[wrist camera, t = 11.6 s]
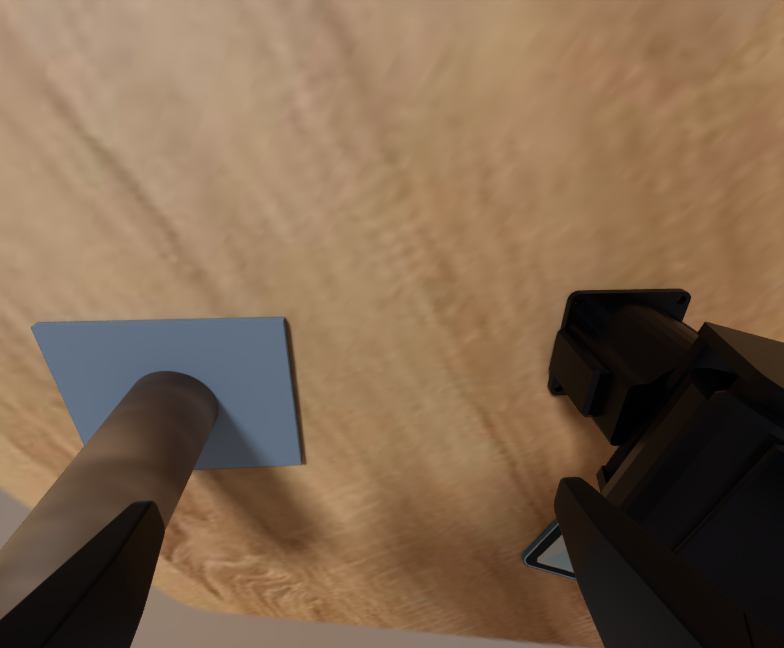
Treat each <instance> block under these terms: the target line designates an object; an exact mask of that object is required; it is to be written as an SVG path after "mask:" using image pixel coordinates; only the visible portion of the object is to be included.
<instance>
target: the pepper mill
mask: <svg viewBox="0 0 784 648" xmlns="http://www.w3.org/2000/svg"><path fill="white" fill-rule="evenodd" d="M217 417H218V404H217V401H216V398H215V397H214V395H213V393H212V392H211V391H210V390H209V389H208V387H207V386H205V385H204V384H203V383H202V382H200V381H199V380H197V379H195V378H193V377H191V376H189V375H186V374H183V373H179V372H174V371H158V372H153V373H150V374H147V375H145V376H143V377H142V378H140V379H139V380H138V381H137V382H136V383H135V384H134V385H133V387H132V388H131V389H130V390H129V391H128V393H127V394H126V395H125V396H124V398H123V399H122V400H121V401H120V403H119V404H118V405H117V406H116V408H115V409H114V410H113V411H112V412H111V414H110V415H109V416H108V417H107V419H106V420H105V421H104V422H103V424H102V425H101V426H100V427H99V429H98V430H97V431H96V432H95V433H94V435H93V436H92V437H91V438H90V440H89V441H88V442H87V443H86V445H85V446H84V447H83V448H82V449H81V451H80V452H79V453H78V454H77V456H76V457H75V458H74V459H73V461H72V462H71V463H70V464H69V466H68V467H67V468H66V469H65V470H64V472H63V473H62V474H61V475H60V477H59V478H58V479H57V480H56V482H55V483H54V484H53V485H52V487H51V488H50V489H49V490H48V491H47V493H46V494H45V495H44V496H43V498H42V499H41V500H40V501H39V503H38V504H37V505H36V506H35V508H34V509H33V510H32V511H31V512H30V514H29V515H28V516H27V518H26V519H25V520H24V521H23V522H22V524H21V525H20V526H19V527H18V529H17V530H16V531H15V532H14V534H13V535H12V536H11V537H10V538H9V540H8V541H7V542H6V543H5V545H4V546H3V547H2V548H1V550H0V619H1V618H3V617H4V616H5V615H6V614H7V613H8V612H9V611H10V610H12V609H13V608H14V607H15V606H16V605H17V604H18V603H19V602H21V601H22V600H23V599H24V598H25V597H26V596H27V595H28V594H30V593H31V592H32V591H33V590H34V589H35V588H36V587H37V586H39V585H40V584H41V583H42V582H43V581H44V580H45V579H46V578H48V577H49V576H50V575H51V574H52V573H53V572H54V571H55V570H57V569H58V568H59V567H60V566H61V565H62V564H63V563H64V562H66V561H67V560H68V559H69V558H70V557H71V556H72V555H74V554H75V553H76V552H77V551H78V550H79V549H80V548H81V547H83V546H84V545H85V544H86V543H87V542H88V541H89V540H90V539H92V538H93V537H94V536H95V535H96V534H97V533H98V532H99V531H101V530H102V529H103V528H104V527H105V526H106V525H107V524H108V523H110V522H111V521H112V520H113V519H114V518H115V517H116V516H117V515H119V514H120V513H121V512H122V511H123V510H124V509H125V508H126V507H128V506H129V505H130V504H131V503H133V502H135V501H146V500H153V501H155V502H156V503H157V506H158V508H159V511H160V514H161V516H162V519H163V521H164V525H165V529H166V527H167V525H168V523H169V521H170V519H171V516H172V514H173V512H174V510H175V508H176V506H177V504H178V501H179V499H180V497H181V495H182V493H183V491H184V488H185V486H186V484H187V482H188V480H189V478H190V476H191V473H192V471H193V469H194V467H195V465H196V463H197V460H198V458H199V456H200V454H201V452H202V450H203V448H204V445H205V443H206V441H207V439H208V437H209V435H210V432H211V430H212V428H213V426H214V424H215V422H216V420H217Z"/></svg>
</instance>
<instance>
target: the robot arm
mask: <svg viewBox="0 0 784 648" xmlns="http://www.w3.org/2000/svg"><path fill="white" fill-rule="evenodd" d="M679 297H681V298H680V299H679V300H678V301H677V299H678V298H679ZM579 298H581V301H580V302H579V303H577V304H575V303H576V301H577V300H578V299H579ZM690 299H691V296H690V294H689V293H688V292H686V291H685V290H683V289H634V290H583V291H575V292H573V293H571V295H570V296H569V297H568V300H567V304H566V308H565V312H564V317H563V321H562V325H561V329H560V330H559V331H558V332H557V336H556V341H555V345H554V350H553V354H552V358H551V363H550V367H549V369H550V371H551V373H550V377H549V382H548V388H549V390H550V391H551V393H552V394H553V395H568V396H569V397H570V399H571V400H572V402H573V403H574V405H575V406H576V407H577V409H578V410H579V412H580V413H581V414H582V415H583V416H584V417H591V418H592V419H593V421H594V422H595V423H596V425H597V426H598V427H599V429H600V430H601V432H602V433H603V434H604V436H605V437H606V438H607V440H608V441H609V442H610V444H611V445H613V446H619V447H618V449H617V450H616V451H615V453H614V454H613V456H612V457H611V458H610V460H609V461H608V463H607V464H606V465H605V466H602V467H601V468H600V470H599V471H598V472H597V474H596V476H597V480H598V484H599V488H600V492H601V494H600V493H599V492H598V491H597V490H595V489H594V488H593V487H592V486H591V485H589V484H588V483H587V482H586V481H584V480H583V479H582V478H580V477H564V478H562V479H561V480H560V482H559V486H558V489H557V493H556V496H555V500H554V510H555V514H556V517H557V520H558V523H559V527H560V530H561V533H562V536H563V539H564V543H565V546H566V549H567V552H568V555H569V559H570V562H571V565H572V568H573V571H574V574H575V577H576V580H577V583H578V585H579V588H580V590H581V593H582V595H583V597H584V600H585V602H586V604H587V607H588V609H589V612H590V614H591V616H592V619H593V621H594V623H595V626H596V628H597V630H598V633H599V635H600V637H601V640H602V642H603V645H604V647H605V648H784V343H783V342H779V341H775V340H772V339H768V338H764V337H761V336H757V335H753V334H749V333H746V332H742V331H738V330H735V329H731V328H727V327H724V326H720V325H716V324H713V323H709V322H705V323H704V324H703V325H702V327H701V328H700V330H699V331H698V332H697V331H696V330H694V329H693V328H691V327H690V326H688V325H687V324H685V323H684V322H682V320H683V318H684V315H685V313H686V310H687V307H688V305H689V302H690ZM557 385H560V386H559V387H557V388H555V387H556V386H557ZM164 534H165V525H164V521H163V519H162V516H161V514H160V511H159V508H158V506H157V503H156V502H155V501H153V500H146V501H135V502H133V503H131V504H130V505H129V506H128V507H126V508H125V509H124V510H123V511H122V512H121V513H120V514H119V515H117V516H116V517H115V518H114V519H113V520H112V521H111V522H110V523H108V524H107V525H106V526H105V527H104V528H103V529H102V530H101V531H99V532H98V533H97V534H96V535H95V536H94V537H93V538H92V539H90V540H89V541H88V542H87V543H86V544H85V545H84V546H83V547H81V548H80V549H79V550H78V551H77V552H76V553H75V554H74V555H72V556H71V557H70V558H69V559H68V560H67V561H66V562H64V563H63V564H62V565H61V566H60V567H59V568H58V569H57V570H55V571H54V572H53V573H52V574H51V575H50V576H49V577H48V578H46V579H45V580H44V581H43V582H42V583H41V584H40V585H39V586H37V587H36V588H35V589H34V590H33V591H32V592H31V593H30V594H28V595H27V596H26V597H25V598H24V599H23V600H22V601H21V602H19V603H18V604H17V605H16V606H15V607H14V608H13V609H12V610H10V611H9V612H8V613H7V614H6V615H5V616H4V617H3V618H1V619H0V648H130V646H131V643H132V641H133V638H134V636H135V633H136V630H137V628H138V625H139V622H140V619H141V617H142V614H143V611H144V607H145V604H146V601H147V597H148V593H149V590H150V586H151V583H152V579H153V575H154V572H155V568H156V564H157V561H158V557H159V553H160V550H161V546H162V542H163V539H164Z"/></svg>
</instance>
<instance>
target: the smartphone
mask: <svg viewBox="0 0 784 648" xmlns="http://www.w3.org/2000/svg"><path fill="white" fill-rule="evenodd" d="M522 559H523V562H524V564H525V565H526V566H529V567H532V568H536V569H539V570H543V571H546V572H550V573H553V574H557V575H560V576H564V577H567V578H571V579H574V580H576V577H575V574H574V571H573V568H572V565H571V562H570V559H569V555H568V552H567V549H566V546H565V543H564V539H563V536H562V533H561V530H560V527H559V523H558V520H557V519H556V520H555V521H554V523H552V524H551V525H550V526H549V527H548V528H547V529H546V531H545V532H544V533H543V534H542V535H540V536H539V537H538V538H537V539H536V540H535V541H534V543H532V545H530V547H529V548H528V549H527V550H526V551H525V552H524V553H523V554H522Z"/></svg>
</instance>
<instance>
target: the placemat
mask: <svg viewBox="0 0 784 648" xmlns="http://www.w3.org/2000/svg"><path fill="white" fill-rule="evenodd" d="M31 329H32V332H33V334H34V336H35V338H36V340H37V343H38V345H39V347H40V349H41V351H42V354H43V356H44V358H45V360H46V362H47V365H48V367H49V369H50V371H51V373H52V376H53V378H54V380H55V382H56V384H57V387H58V389H59V391H60V393H61V395H62V398H63V400H64V402H65V404H66V406H67V408H68V411H69V413H70V415H71V417H72V419H73V422H74V424H75V426H76V428H77V430H78V433H79V435H80V437H81V439H82V441H83V444H84V446H85V445H86V443H87V442H88V441H89V440H90V438H91V437H92V436H93V435H94V433H95V432H96V431H97V430H98V429H99V427H100V426H101V425H102V424H103V422H104V421H105V420H106V419H107V417H108V416H109V415H110V414H111V412H112V411H113V410H114V409H115V408H116V406H117V405H118V404H119V403H120V401H121V400H122V399H123V398H124V396H125V395H126V394H127V393H128V391H129V390H130V389H131V388H132V387H133V385H134V384H135V383H136V382H137V381H138V380H139V379H140V378H142V377H143V376H145V375H147V374H150V373H153V372H158V371H174V372H179V373H183V374H186V375H189V376H191V377H193V378H195V379H197V380H199V381H200V382H202V383H203V384H204V385H205V386H207V387H208V389H209V390H210V391H211V392H212V393H213V395H214V397H215V398H216V401H217V404H218V417H217V420H216V422H215V424H214V426H213V428H212V430H211V432H210V435H209V437H208V439H207V441H206V443H205V445H204V448H203V450H202V452H201V454H200V456H199V458H198V460H197V463H196V465H195V467H194V469H193V470H202V469H223V468H245V467H266V466H287V465H301V463H302V454H301V446H300V438H299V430H298V422H297V414H296V406H295V398H294V390H293V382H292V374H291V366H290V358H289V350H288V342H287V334H286V326H285V318H284V317H260V318H216V319H172V320H128V321H84V322H40V323H36V324H35V325H33V326H32V327H31Z"/></svg>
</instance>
